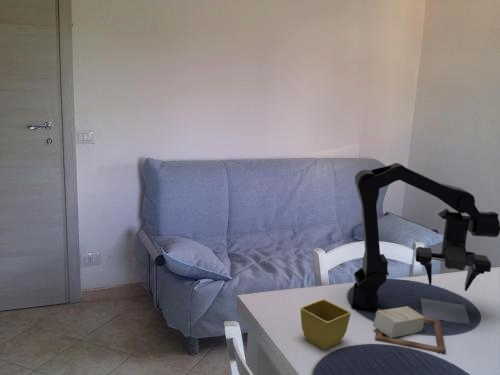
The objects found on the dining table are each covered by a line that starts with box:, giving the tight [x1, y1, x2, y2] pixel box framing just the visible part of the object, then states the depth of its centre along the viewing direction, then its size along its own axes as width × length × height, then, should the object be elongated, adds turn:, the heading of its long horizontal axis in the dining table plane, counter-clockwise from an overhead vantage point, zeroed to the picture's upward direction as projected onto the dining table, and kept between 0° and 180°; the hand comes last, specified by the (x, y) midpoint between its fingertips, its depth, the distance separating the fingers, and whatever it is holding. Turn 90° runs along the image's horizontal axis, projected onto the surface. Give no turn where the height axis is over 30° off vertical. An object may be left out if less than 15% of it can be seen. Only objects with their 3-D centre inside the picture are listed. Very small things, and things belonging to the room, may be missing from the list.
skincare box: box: [372, 305, 425, 338], centre depth 114 cm, size 6×4×12 cm
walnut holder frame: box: [374, 308, 447, 355], centre depth 114 cm, size 16×16×2 cm
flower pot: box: [300, 299, 352, 350], centre depth 107 cm, size 9×9×9 cm
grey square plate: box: [420, 297, 470, 323], centre depth 126 cm, size 12×12×1 cm
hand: (447, 287), depth 124 cm, fingers open, 9 cm apart
